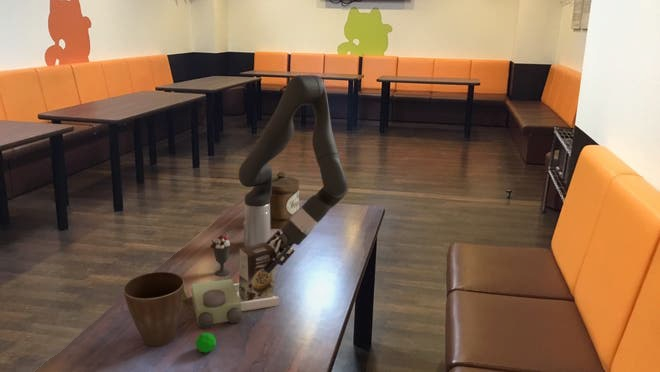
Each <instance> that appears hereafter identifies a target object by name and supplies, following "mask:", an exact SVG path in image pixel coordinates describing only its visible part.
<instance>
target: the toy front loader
mask: <svg viewBox="0 0 660 372" xmlns="http://www.w3.org/2000/svg"><path fill="white" fill-rule="evenodd" d="M191 293H192V294H191V296H192V303H193V308H194V314H195V316H196V317H195V318H196V321H197V326H198V327H200V328H201V329H208V328H210V327H212V326H213V325H215V324H220V323H221V324H222V323H225V322H229V323H230V324H237V323H238V324H239V322H241V321H242V319H243V313H242V312H245V311H252V310H258V309H264V308H265V309H266V308H271V307H276V306H277V307H278V306H280V304H279V303H280V302H279V301H280V300H279V299H280V298H279V296H275V295H274V296H273V297H270V298H263V299H257V300H250V301H244V300H243V299H242V298H241V297H240V296H239V282H238V283H234V282H233V278H229V279H223V280H215V281H213V280H212V281H208V282H201V283H193V284H191Z"/></svg>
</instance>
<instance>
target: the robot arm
mask: <svg viewBox="0 0 660 372" xmlns="http://www.w3.org/2000/svg"><path fill="white" fill-rule="evenodd" d="M302 106H311V107H312V109H313V110H312V111H313V113H314V118H315V119H314V120H315V121H314V122H315V123H314V128H313V133H312V139H311V140H312V148H313V152H314V157H315V159H316V162H317V164H318V168H319V170H320V176H321V181H322V184H323V186H322V187H321V188H320V189H319V191H318V192H316V193H315V194H313V195H312V196H310V197H309V198H308V199H307V200H306V202H304V204H303V205H302V206H301V207H299V210H297V211H296V212H295V213H294V214H293V215H292V216H291V217H290V219H289V220H288V221H287V222H286V223H285V224H284V225H283V226H282V227H281V228H280V230H279V229H278V230H276V232H274V234H273V235H272V231H271V227H270V198H271V194H272V177H273V170H272V166H271V164H270V161H271V160H273V159H274V158H276V157H277V156H278V155H280V154H281V153H282V152H283V151H284V150H285V149H286V148H287V146H288V145H289V143H290V141H291V140H292V138H293V137H294V133H295V126H294V120H293V119H294V116H295V115H296V112H297V110H298V109H299V108H301V107H302ZM332 128H333V127H332V122H331V115H330V107H329V101H328V94H327V88H326V85H325V82H324V80H323V79H322V77H320V76H319V75H314V74H311V75H309V74H302V75H301V74H298V75H293V76H292V77H291V78H290V79H289V81H288V82H287V84H286V86H285V89H284V91H283V94H282V95H281V98H280V100H279V102H278V104H277V106H276V109H275V111H274V112H273V114H272V116H271V118H270V120H269V121H268V123H267V124H266V127H265V128H264V130H263V131H262V133H261V136H260V137H259V139H258V140H257V142H256V144H255V145H254V147H253V148H252V150H251V152H250V153H249V154H248V156H247V157H246V158H245V159H244V161H243V162H242V163H241V165H240V166H239V169H238V179H239V182H240V184H241V185H243V186H244V187H245V188H246V187H247V188H252V189H251V190H250V191H249V192H247V193H246V194H245V195H244V217H245V218H244V221H243V245H244V247H248V246H252V245H256V244H260V243H264V242H265V243H266V244H268V245H270V246H271V247H273V248H274V249H275V251H274V254H275V255H274V257H273V259H271V261H270V262H269V263H268V264H267V265H266V266H265V267H264V270H265V271H266V272H267V273H270V272H271V271H272V270H273V269H274V268H275V269H276V267H277V266H279V265H280V267H282V266H283V265H284V264H285V263H286V262H287V261H288V259H289V258H291V256H292V255H293V254H294V253H295V251H296V250H295V249H294V248H293V245H296V246H299V245H300V244H301V243H302V242H303V241H304V240H305V239H306V238H307V237H308V235H310V234H311V233H312V231H313V230H314V229H315V228H316V226H317V225H318V224H319V222H320V221H321V220H322V219H323V218H324V217H325V216H326V215H327V214H328V213H329V211H330V210H331V209H332V208H334V207H335V206H336V205H337V204H339V202H340V201H342V200H343V198H344V197H346V195H347V194H348V191H349V188H350V187H349V185H350V184H349V183H348V182H349V181H348V180H347V178H346V176H345V172H344V169H343V167H342V163H341V157H340V154H339V150H338V147H337V144H336V140H335V137H334V133H333V129H332ZM271 235H272V236H271Z"/></svg>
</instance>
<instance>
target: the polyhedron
mask: <svg viewBox="0 0 660 372" xmlns="http://www.w3.org/2000/svg"><path fill="white" fill-rule="evenodd" d="M216 344H217V340H216V337H215V336H214V335H213V334H212V333H210V332H206V331H205V332H203V333H202V334H199V335H198V336H197V338H196V340H195V347H196V348H197V350H198V351H199V352H201V353H205V354H206V353H209V352H211V351H213V350H214V349H215V347H216Z"/></svg>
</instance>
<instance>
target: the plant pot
mask: <svg viewBox="0 0 660 372" xmlns="http://www.w3.org/2000/svg"><path fill="white" fill-rule="evenodd" d="M184 289H185V280H184V278H183V277H182V276H181V275H179V274H177V273H175V272H169V271H157V272H156V271H155V272H149V273H145V274H140V275H138V276H136V277H133V278H132V279H129V281H127V282H126V283H125V284H124V286H123V288H122V291H123V295H124V298H125V302H126V304H127V308H128V311H129V314H130V315H131V318H132V320H133V323H134V325H135V327H136V329H137V331H138V332H139V335H140V336H141V338H142V339H143V341H144V343H145V344H146V345H147V346H150V347H162V346H165V345H167V344H169V343H171V342H172V341H173V339H174V338H175V335H176V332H177V328H178V325H179V321H180V317H181V312H182V307H183V302H182V301H183V292H184Z"/></svg>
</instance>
